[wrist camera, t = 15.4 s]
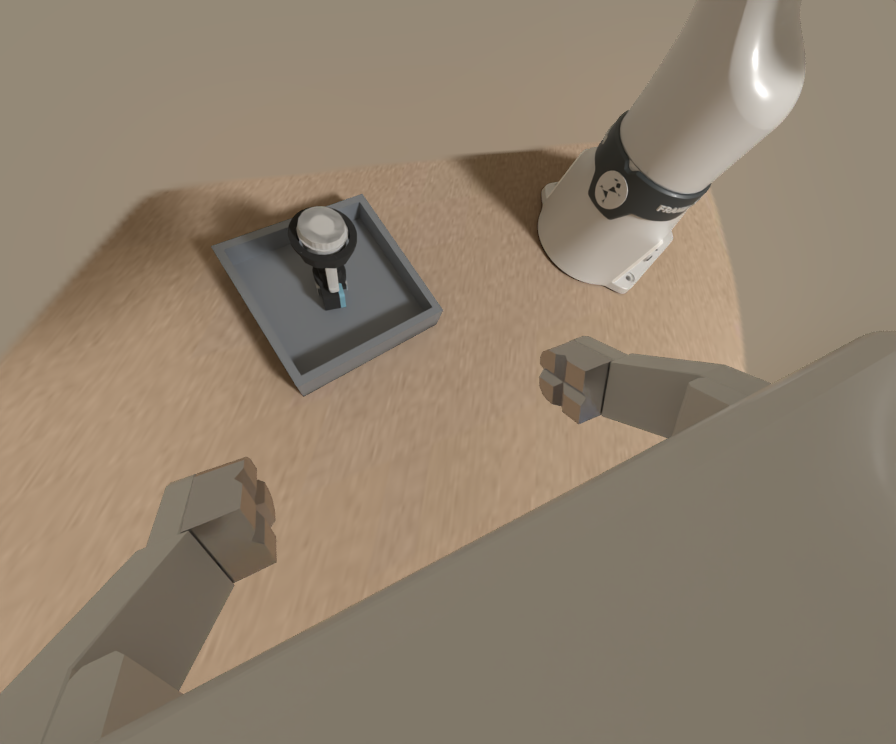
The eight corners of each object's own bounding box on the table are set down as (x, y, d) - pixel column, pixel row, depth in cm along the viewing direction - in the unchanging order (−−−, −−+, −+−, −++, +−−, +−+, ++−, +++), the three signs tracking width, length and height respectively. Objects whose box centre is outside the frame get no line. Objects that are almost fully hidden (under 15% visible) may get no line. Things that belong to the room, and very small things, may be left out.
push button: (297, 261, 36) (274, 186, 27) (347, 254, 38) (342, 181, 28) (312, 317, 35) (293, 258, 25) (364, 307, 36) (364, 248, 27)
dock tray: (362, 216, 41) (362, 193, 38) (436, 324, 39) (443, 310, 36) (224, 267, 35) (210, 246, 32) (303, 396, 33) (297, 387, 30)
